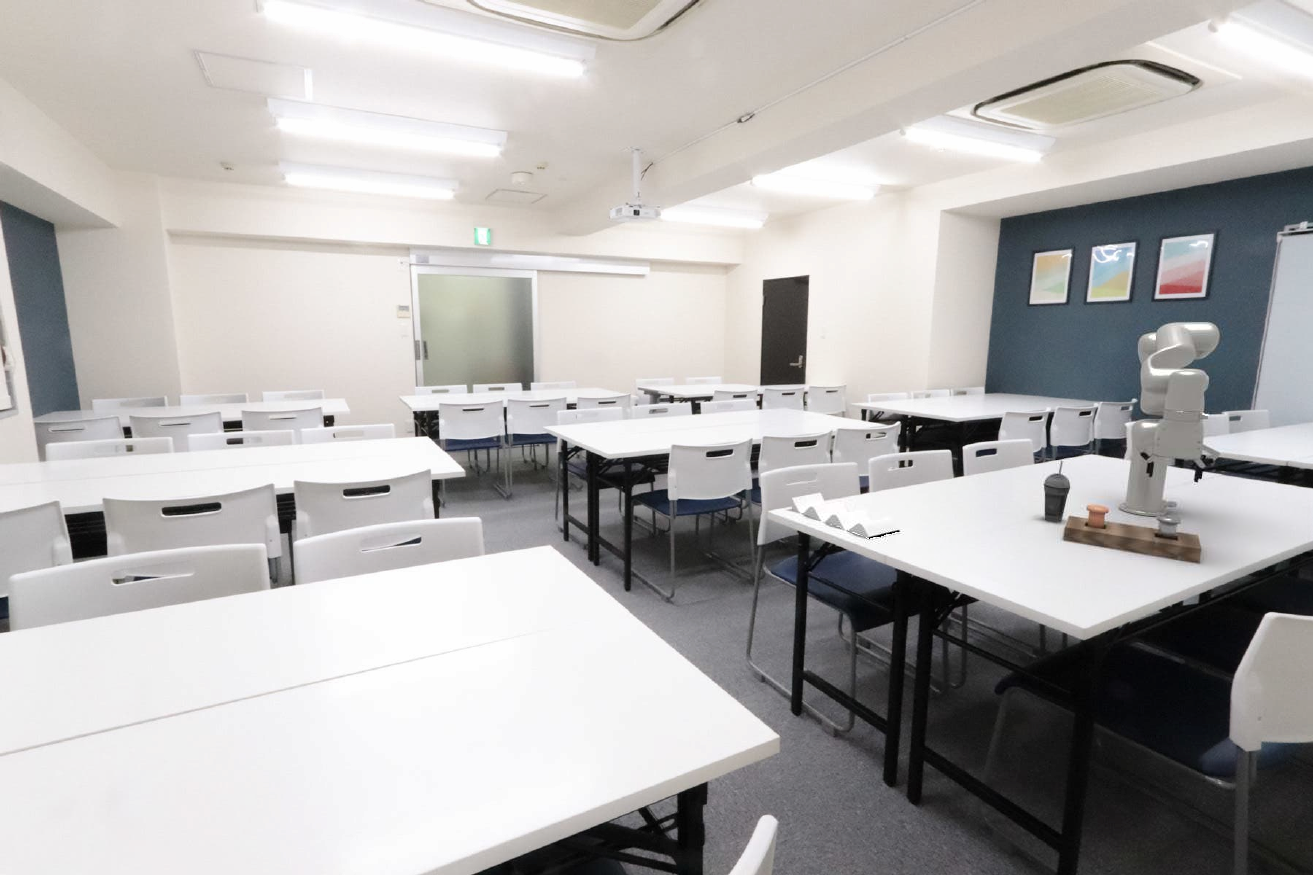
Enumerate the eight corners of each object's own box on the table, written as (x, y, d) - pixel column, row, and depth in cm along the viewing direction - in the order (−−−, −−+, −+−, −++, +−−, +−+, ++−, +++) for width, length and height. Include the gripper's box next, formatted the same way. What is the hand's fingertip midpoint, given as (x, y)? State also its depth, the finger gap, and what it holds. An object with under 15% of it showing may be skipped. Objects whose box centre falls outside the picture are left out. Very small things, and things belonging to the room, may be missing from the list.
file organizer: (871, 542, 178) (872, 525, 177) (791, 512, 208) (792, 497, 207) (901, 534, 184) (902, 518, 183) (820, 506, 214) (820, 492, 213)
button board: (1195, 548, 169) (1197, 535, 169) (1199, 563, 158) (1201, 549, 158) (1067, 527, 188) (1069, 515, 187) (1063, 539, 177) (1064, 526, 176)
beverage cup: (1058, 517, 198) (1065, 458, 195) (1071, 524, 191) (1078, 462, 188) (1035, 516, 199) (1041, 457, 196) (1047, 523, 192) (1053, 462, 188)
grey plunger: (1177, 539, 168) (1180, 517, 167) (1178, 544, 164) (1181, 521, 163) (1153, 535, 171) (1156, 513, 170) (1153, 540, 167) (1156, 518, 166)
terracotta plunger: (1106, 528, 178) (1109, 507, 177) (1105, 532, 174) (1108, 511, 173) (1084, 524, 181) (1087, 504, 180) (1083, 529, 177) (1086, 508, 176)
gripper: (1224, 418, 159) (1214, 481, 162) (1140, 413, 170) (1132, 472, 173) (1227, 421, 154) (1216, 486, 156) (1140, 415, 164) (1132, 476, 167)
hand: (1172, 478), depth 165 cm, fingers open, 9 cm apart
